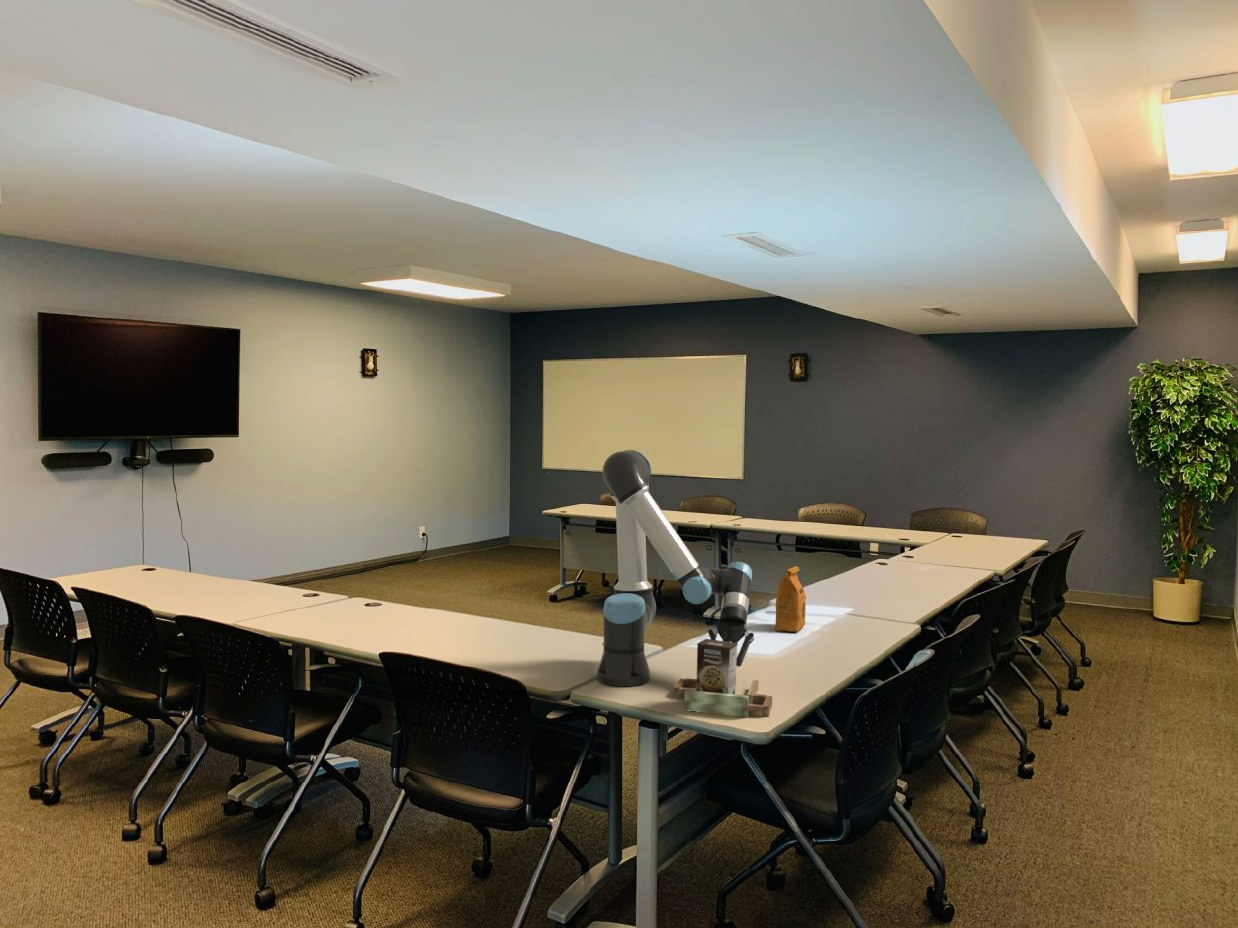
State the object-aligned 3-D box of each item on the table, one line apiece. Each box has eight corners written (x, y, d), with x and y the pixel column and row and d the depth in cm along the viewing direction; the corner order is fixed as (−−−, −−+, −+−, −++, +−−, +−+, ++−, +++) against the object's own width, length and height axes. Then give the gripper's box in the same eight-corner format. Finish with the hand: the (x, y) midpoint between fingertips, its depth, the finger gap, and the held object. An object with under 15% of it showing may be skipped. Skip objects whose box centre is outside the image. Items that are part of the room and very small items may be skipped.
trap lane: (665, 708, 222) (665, 689, 222) (683, 682, 245) (683, 664, 244) (767, 719, 215) (768, 699, 215) (776, 691, 238) (777, 673, 237)
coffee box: (695, 704, 226) (696, 643, 225) (704, 697, 232) (705, 637, 231) (728, 709, 222) (729, 647, 221) (736, 702, 228) (737, 641, 227)
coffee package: (809, 627, 311) (811, 566, 310) (798, 634, 301) (799, 571, 299) (783, 623, 316) (784, 564, 315) (771, 630, 306) (772, 569, 304)
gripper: (758, 620, 247) (749, 696, 232) (712, 617, 251) (701, 691, 235) (756, 606, 242) (747, 682, 226) (709, 603, 245) (697, 678, 230)
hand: (723, 687), depth 231 cm, fingers closed
